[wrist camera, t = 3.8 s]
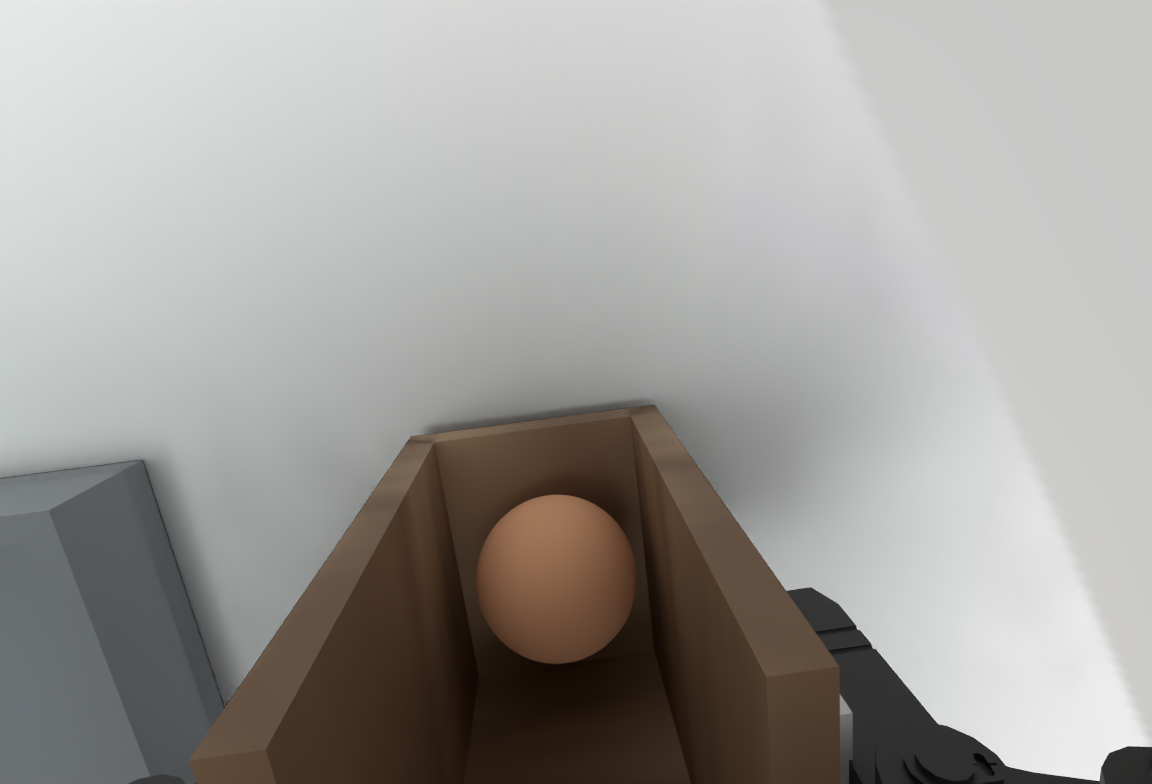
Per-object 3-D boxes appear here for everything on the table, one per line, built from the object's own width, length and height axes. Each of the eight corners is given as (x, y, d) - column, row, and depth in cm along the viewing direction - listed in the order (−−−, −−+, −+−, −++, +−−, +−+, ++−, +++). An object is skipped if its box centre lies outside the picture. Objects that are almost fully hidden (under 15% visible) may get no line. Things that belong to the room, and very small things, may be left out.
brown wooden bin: (460, 682, 14) (357, 1238, 6) (411, 436, 12) (188, 760, 5) (676, 651, 14) (843, 1156, 6) (654, 404, 12) (839, 666, 5)
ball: (496, 701, 11) (471, 648, 9) (480, 554, 13) (457, 480, 11) (650, 665, 11) (665, 605, 9) (612, 528, 13) (617, 451, 11)
